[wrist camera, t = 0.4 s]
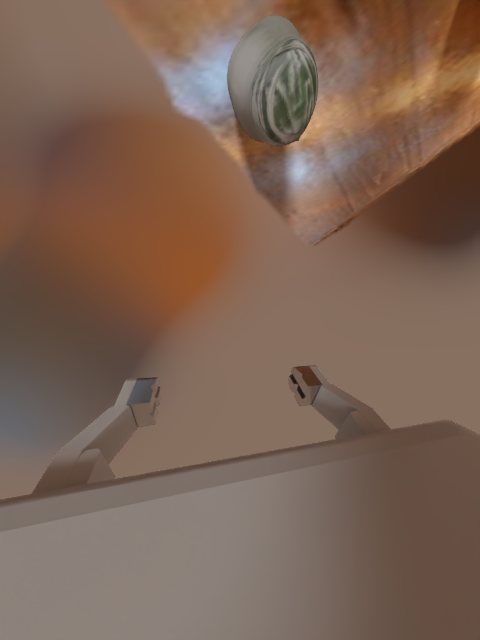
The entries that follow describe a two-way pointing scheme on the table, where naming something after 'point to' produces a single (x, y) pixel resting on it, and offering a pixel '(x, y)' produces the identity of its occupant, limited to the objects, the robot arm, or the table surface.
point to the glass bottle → (273, 82)
